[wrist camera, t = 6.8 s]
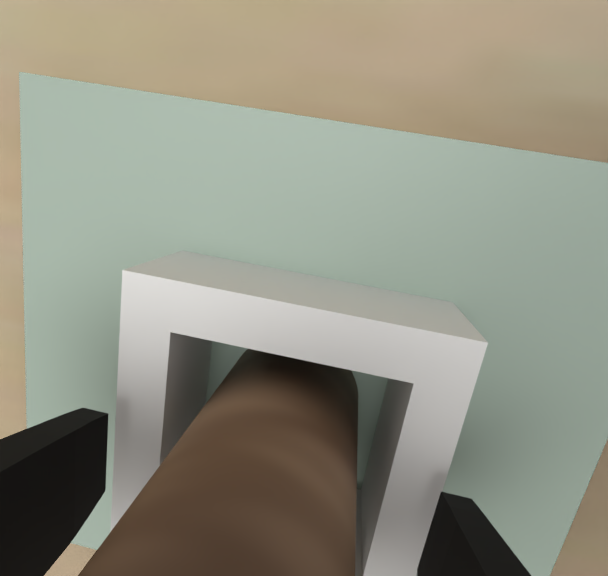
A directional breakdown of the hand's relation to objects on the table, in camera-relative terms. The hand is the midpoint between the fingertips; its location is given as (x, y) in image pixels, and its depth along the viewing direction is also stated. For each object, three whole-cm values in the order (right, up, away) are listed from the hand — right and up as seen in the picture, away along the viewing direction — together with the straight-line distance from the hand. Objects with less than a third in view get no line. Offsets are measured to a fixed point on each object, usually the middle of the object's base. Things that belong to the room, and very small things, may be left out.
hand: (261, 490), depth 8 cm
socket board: (+1, +1, +5) cm, 5 cm away
